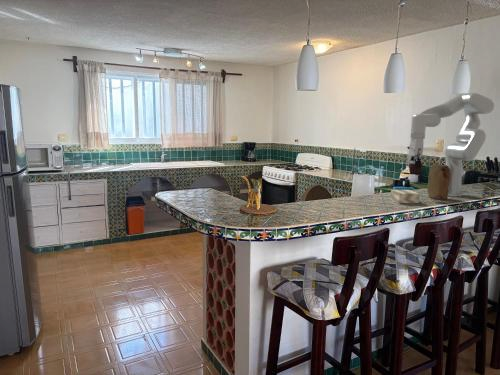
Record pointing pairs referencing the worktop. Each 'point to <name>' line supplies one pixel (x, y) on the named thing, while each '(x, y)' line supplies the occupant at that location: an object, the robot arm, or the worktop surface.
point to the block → (439, 182)
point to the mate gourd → (412, 167)
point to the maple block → (404, 196)
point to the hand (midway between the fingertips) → (415, 166)
